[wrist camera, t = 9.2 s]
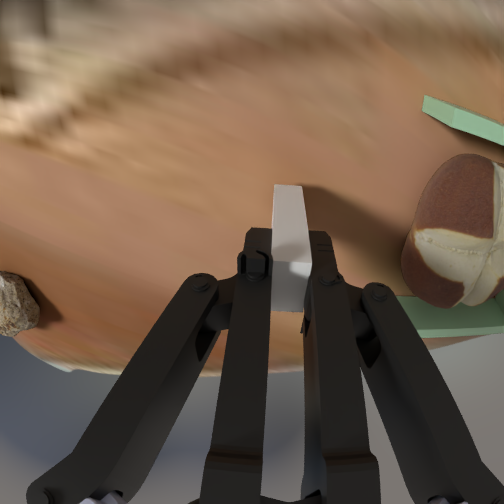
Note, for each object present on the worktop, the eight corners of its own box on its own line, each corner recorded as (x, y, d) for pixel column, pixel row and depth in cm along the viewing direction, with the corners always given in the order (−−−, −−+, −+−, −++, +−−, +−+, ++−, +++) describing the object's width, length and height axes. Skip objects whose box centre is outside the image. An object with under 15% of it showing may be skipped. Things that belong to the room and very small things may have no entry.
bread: (378, 277, 21) (394, 329, 17) (430, 130, 15) (473, 160, 11) (481, 287, 21) (503, 329, 17) (536, 174, 14) (575, 208, 10)
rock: (54, 310, 28) (36, 339, 25) (15, 320, 31) (1, 344, 28) (11, 258, 24) (-12, 286, 21) (-19, 279, 27) (-37, 302, 24)
